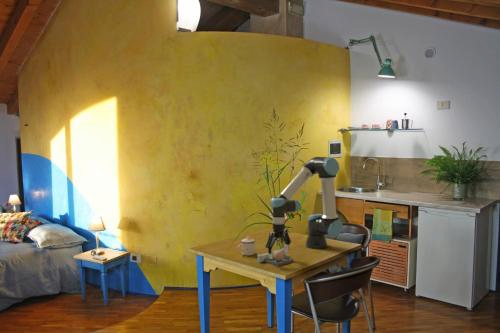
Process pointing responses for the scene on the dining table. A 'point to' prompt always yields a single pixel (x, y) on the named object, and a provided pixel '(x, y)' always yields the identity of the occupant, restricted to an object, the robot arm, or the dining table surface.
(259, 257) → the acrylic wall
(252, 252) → the teacup with lid
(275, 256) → the ball
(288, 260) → the tray
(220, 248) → the dining table surface
